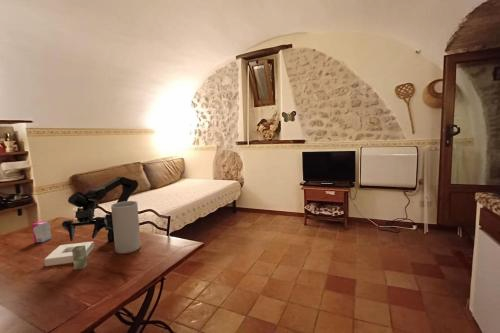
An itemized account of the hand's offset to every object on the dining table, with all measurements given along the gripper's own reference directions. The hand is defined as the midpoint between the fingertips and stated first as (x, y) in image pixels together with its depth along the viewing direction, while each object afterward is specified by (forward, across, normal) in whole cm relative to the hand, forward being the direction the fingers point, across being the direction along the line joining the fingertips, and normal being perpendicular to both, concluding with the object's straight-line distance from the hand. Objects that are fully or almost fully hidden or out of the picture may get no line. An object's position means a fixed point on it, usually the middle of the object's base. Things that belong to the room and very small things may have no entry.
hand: (82, 239), depth 122 cm
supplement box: (-18, -34, +34) cm, 52 cm away
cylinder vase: (+2, +18, +15) cm, 23 cm away
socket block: (+2, -9, +14) cm, 17 cm away
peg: (+12, 0, +5) cm, 12 cm away
